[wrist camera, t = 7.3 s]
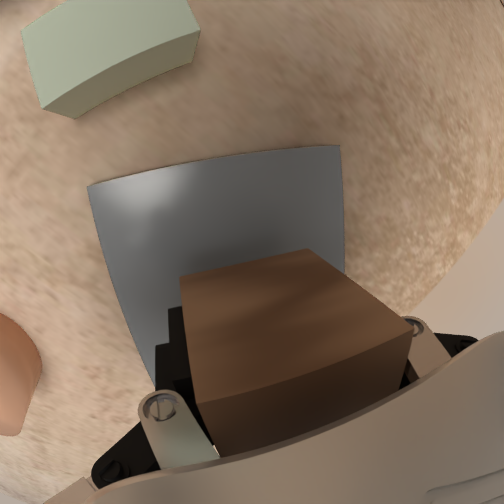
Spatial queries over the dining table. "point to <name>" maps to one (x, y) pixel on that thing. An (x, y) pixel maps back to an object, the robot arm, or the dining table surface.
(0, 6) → the dining table surface
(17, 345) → the peach rounded cylinder
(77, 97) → the sage block
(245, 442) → the walnut block
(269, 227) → the slate coaster
